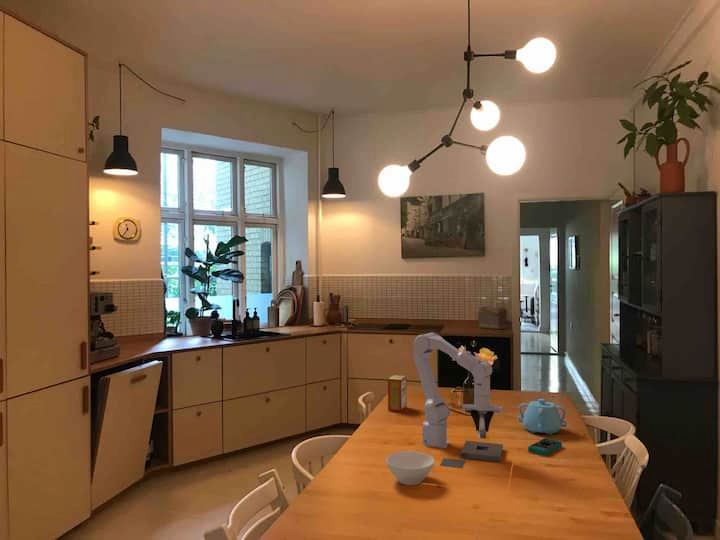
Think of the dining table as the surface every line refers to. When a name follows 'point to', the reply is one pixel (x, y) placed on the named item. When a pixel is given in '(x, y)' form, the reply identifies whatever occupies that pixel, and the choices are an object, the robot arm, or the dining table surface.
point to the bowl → (410, 466)
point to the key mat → (452, 463)
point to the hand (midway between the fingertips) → (482, 430)
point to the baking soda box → (396, 393)
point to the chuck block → (482, 451)
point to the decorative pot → (542, 417)
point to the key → (482, 425)
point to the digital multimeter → (545, 446)
